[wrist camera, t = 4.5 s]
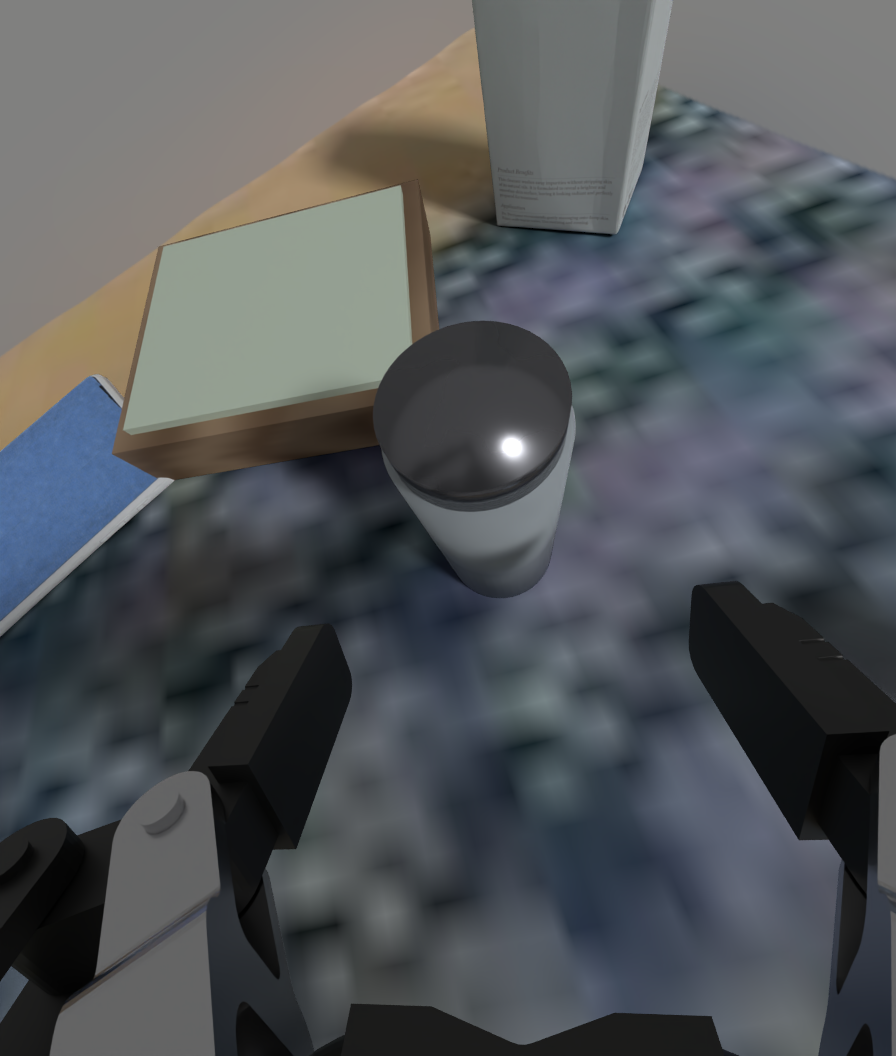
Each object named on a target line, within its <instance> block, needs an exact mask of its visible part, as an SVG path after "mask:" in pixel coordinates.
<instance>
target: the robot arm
mask: <svg viewBox="0 0 896 1056" xmlns="http://www.w3.org/2000/svg"><path fill="white" fill-rule="evenodd" d="M689 652H690V657H691V661H692V664H693V666H694V669H695V671H696V673H697V675H698V677H699V678H700V680H701V681H702V683H703V685H704V686H705V688H706V690H707V691H708V693H709V694H710V696H711V698H712V699H713V701H714V703H715V704H716V706H717V707H718V709H719V711H720V712H721V714H722V716H723V717H724V719H725V721H726V722H727V724H728V725H729V727H730V729H731V730H732V732H733V734H734V735H735V737H736V738H737V740H738V742H739V743H740V745H741V747H742V748H743V750H744V751H745V753H746V755H747V756H748V758H749V760H750V761H751V763H752V764H753V766H754V768H755V769H756V771H757V773H758V774H759V776H760V778H761V779H762V781H763V782H764V784H765V786H766V787H767V789H768V791H769V792H770V794H771V795H772V797H773V799H774V800H775V802H776V804H777V805H778V807H779V808H780V810H781V812H782V813H783V815H784V817H785V818H786V820H787V822H788V823H789V825H790V826H791V828H792V830H793V831H794V833H795V835H796V836H797V838H798V839H799V840H829V841H830V842H831V844H832V845H833V847H834V848H835V850H836V851H837V853H838V854H839V855H840V857H841V858H842V860H841V863H840V867H839V873H838V885H837V898H836V911H835V923H834V936H833V948H832V961H831V974H830V986H829V997H828V1006H827V1013H826V1018H825V1024H824V1028H823V1032H822V1037H821V1042H820V1048H819V1055H818V1056H896V703H894V702H893V701H892V700H891V699H890V698H889V697H888V696H887V695H886V694H885V693H884V692H882V691H881V690H880V689H879V688H878V687H877V686H876V685H875V684H874V683H873V682H871V681H870V680H869V679H868V678H867V677H866V676H865V675H864V674H863V673H862V672H861V671H859V670H858V669H857V668H856V667H855V666H854V665H853V664H852V663H851V662H850V661H849V660H844V659H843V655H842V654H841V653H840V652H839V651H838V650H836V649H835V648H834V647H833V646H832V645H831V644H830V643H829V642H825V641H824V638H823V637H822V636H821V635H820V634H819V633H818V632H817V631H816V630H815V629H814V628H812V627H811V626H810V625H809V624H808V623H807V622H806V621H805V620H804V619H803V618H801V617H799V616H797V615H795V614H793V613H791V612H789V611H787V610H785V609H784V608H782V607H780V606H778V605H776V604H774V603H765V604H762V603H761V602H760V601H759V600H758V599H757V598H755V597H754V596H753V595H752V594H751V593H750V592H749V591H748V590H747V589H746V588H745V587H744V586H743V585H742V584H741V583H740V582H738V581H730V582H721V583H712V584H702V585H696V586H695V587H694V588H693V591H692V598H691V614H690V630H689ZM351 692H352V678H351V673H350V670H349V667H348V665H347V662H346V659H345V656H344V654H343V651H342V648H341V646H340V643H339V640H338V637H337V635H336V632H335V630H334V628H333V626H332V625H330V624H319V625H309V626H300V627H297V628H295V629H294V631H293V632H292V634H291V635H290V637H289V638H288V640H287V642H286V643H285V645H284V646H283V648H282V650H278V651H275V652H274V653H273V654H272V655H271V656H270V657H269V658H268V659H267V660H265V661H264V662H263V663H262V664H261V665H260V666H259V667H258V668H257V669H256V671H255V672H254V674H253V675H252V677H251V678H250V680H249V681H248V683H247V684H246V686H245V690H242V692H241V693H240V695H239V696H238V698H237V699H236V701H235V702H234V703H235V705H234V706H232V707H231V708H230V710H229V711H228V713H227V714H226V716H225V717H224V719H223V720H222V722H221V723H220V725H219V726H218V728H217V729H216V731H215V732H214V734H213V735H212V737H211V738H210V740H209V741H208V743H207V744H206V746H205V747H204V749H203V750H202V752H201V753H200V755H199V756H198V758H197V759H196V761H195V762H194V764H193V765H192V767H191V768H190V769H189V771H188V772H183V773H179V774H176V775H174V776H171V777H169V778H167V779H165V780H163V781H162V782H160V783H158V784H157V785H155V786H154V787H153V788H151V789H150V790H148V791H147V792H146V793H145V794H144V795H143V796H141V797H140V798H139V799H138V800H137V801H136V802H135V803H134V804H133V806H132V807H131V808H130V809H129V810H128V812H127V813H126V814H125V816H124V817H123V819H122V820H119V821H116V822H113V823H110V824H108V825H105V826H102V827H99V828H97V829H94V830H91V831H88V832H85V833H83V834H80V835H76V834H75V833H74V832H73V831H72V830H71V829H70V827H69V826H68V825H67V824H66V823H65V822H64V821H63V820H61V819H58V818H49V819H43V820H40V821H37V822H35V823H32V824H30V825H28V826H26V827H24V828H22V829H20V830H19V831H17V832H15V833H14V834H12V835H10V836H9V837H7V838H6V839H5V840H3V841H2V842H1V843H0V981H1V980H2V978H3V977H4V975H5V974H6V972H7V971H8V970H9V968H10V967H11V966H12V967H13V968H14V969H16V970H17V971H18V972H20V973H21V974H22V975H23V976H25V977H26V978H27V979H29V981H28V982H27V984H26V985H25V987H24V988H23V990H22V991H21V993H20V994H19V996H18V997H17V999H16V1001H15V1002H14V1004H13V1005H12V1007H11V1008H10V1010H9V1011H8V1013H7V1014H6V1016H5V1017H4V1019H3V1020H2V1022H1V1023H0V1056H738V1055H736V1054H734V1053H731V1052H729V1051H726V1050H724V1049H722V1047H721V1044H720V1041H719V1038H718V1035H717V1032H716V1029H715V1026H714V1023H713V1019H712V1016H688V1015H660V1014H631V1013H613V1014H610V1015H607V1016H605V1017H602V1018H599V1019H596V1020H594V1021H591V1022H588V1023H586V1024H583V1025H580V1026H578V1027H575V1028H572V1029H569V1030H567V1031H564V1032H561V1033H559V1034H556V1035H553V1036H550V1037H548V1038H545V1039H542V1040H540V1041H537V1042H534V1043H531V1044H527V1045H518V1044H515V1043H512V1042H510V1041H507V1040H505V1039H503V1038H501V1037H498V1036H496V1035H494V1034H492V1033H490V1032H487V1031H485V1030H483V1029H481V1028H478V1027H476V1026H474V1025H472V1024H469V1023H467V1022H465V1021H463V1020H460V1019H458V1018H456V1017H454V1016H452V1015H449V1014H447V1013H445V1012H443V1011H440V1010H438V1009H436V1008H434V1007H430V1006H401V1005H373V1004H351V1007H350V1012H349V1017H348V1022H347V1027H346V1032H345V1035H343V1036H341V1037H339V1038H337V1039H335V1040H333V1041H331V1042H330V1043H328V1044H326V1045H324V1046H323V1047H321V1048H319V1049H317V1050H316V1051H315V1052H314V1048H313V1044H312V1040H311V1037H310V1034H309V1031H308V1027H307V1025H306V1022H305V1019H304V1017H303V1014H302V1012H301V1009H300V1007H299V1005H298V1002H297V1000H296V997H295V994H294V991H293V987H292V983H291V979H290V974H289V970H288V965H287V960H286V955H285V950H284V945H283V940H282V935H281V931H280V926H279V921H278V916H277V911H276V906H275V901H274V896H273V892H272V887H271V882H270V877H269V874H268V872H267V870H266V869H265V867H266V865H267V863H268V860H269V858H270V855H271V853H272V850H275V849H296V848H297V845H298V842H299V840H300V837H301V834H302V831H303V829H304V826H305V823H306V820H307V818H308V815H309V812H310V809H311V806H312V804H313V801H314V798H315V795H316V793H317V790H318V787H319V784H320V781H321V779H322V776H323V773H324V770H325V768H326V765H327V762H328V759H329V757H330V754H331V751H332V748H333V745H334V743H335V740H336V737H337V734H338V732H339V729H340V726H341V723H342V721H343V718H344V715H345V712H346V709H347V707H348V704H349V701H350V698H351Z"/></svg>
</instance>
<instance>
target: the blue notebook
mask: <svg viewBox="0 0 896 1056" xmlns="http://www.w3.org/2000/svg"><path fill="white" fill-rule="evenodd" d="M123 402H124V397H123V396H122V395H121V394H120V393H119V392H118V390H117V389H116V388H115V387H114V386H113V384H112V383H111V382H110V381H109V380H108V379H107V378H105V377H103V376H102V375H99V374H94V375H91V376H89V377H87V378H86V379H84V380H83V381H82V382H81V383H80V384H79V385H78V386H76V387H75V388H74V389H73V390H72V391H71V392H69V393H68V394H67V395H66V396H65V397H63V398H62V399H61V400H60V401H59V402H58V403H56V404H55V405H54V406H53V407H52V408H50V409H49V410H48V411H47V412H46V413H45V414H44V415H42V416H41V417H40V418H39V419H38V420H37V421H35V422H34V423H33V424H32V425H31V426H30V427H28V428H27V429H26V430H25V431H24V432H22V433H21V434H20V435H19V436H18V437H17V438H15V439H14V440H13V441H12V442H11V443H10V444H8V445H7V446H6V447H5V448H4V449H3V450H1V451H0V637H1V636H2V635H3V634H4V633H5V632H6V631H7V630H8V629H9V628H10V627H12V626H13V625H14V624H15V623H16V622H17V621H18V620H19V619H20V618H21V617H22V616H24V615H25V614H26V613H27V612H28V611H29V610H30V609H31V608H32V607H34V606H35V605H36V604H37V603H38V602H39V601H40V600H41V599H42V598H43V597H45V596H46V595H47V594H48V593H49V592H50V591H51V590H52V589H53V588H54V587H55V586H57V585H58V584H59V583H60V582H61V581H62V580H63V579H64V578H65V577H67V576H68V575H69V574H70V573H71V572H72V571H73V570H74V569H75V568H77V567H78V566H79V565H80V564H81V563H82V562H83V561H84V560H85V559H87V558H88V557H89V556H90V555H91V554H92V553H93V552H94V551H95V550H97V549H98V548H99V547H100V546H101V545H102V544H103V543H104V542H105V541H107V540H108V539H109V538H110V537H111V536H112V535H113V534H114V533H115V532H116V531H117V530H119V529H120V528H121V527H122V526H123V525H125V524H126V523H127V522H128V521H129V520H130V519H131V518H132V517H134V516H135V515H136V514H137V513H138V512H139V511H140V510H141V509H143V508H144V507H145V506H146V505H147V504H148V503H150V502H151V501H152V500H153V499H154V498H155V497H156V496H158V495H159V494H160V493H161V492H162V491H163V490H164V489H165V488H167V487H168V486H169V485H170V484H171V483H172V482H173V481H174V480H173V479H170V478H155V477H154V476H152V475H150V474H148V473H146V472H144V471H142V470H141V469H139V468H137V467H135V466H133V465H131V464H129V463H128V462H126V461H124V460H122V459H120V458H118V457H116V456H114V455H113V454H112V450H113V446H114V441H115V437H116V433H117V428H118V424H119V419H120V415H121V411H122V406H123Z"/></svg>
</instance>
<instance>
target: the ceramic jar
mask: <svg viewBox="0 0 896 1056" xmlns="http://www.w3.org/2000/svg"><path fill="white" fill-rule="evenodd" d="M373 423H374V430H375V434H376V438H377V440H378V442H379V445H380V447H381V449H382V456H383V460H384V464H385V467H386V469H387V472H388V474H389V476H390V478H391V479H392V481H393V482H394V484H395V486H396V487H397V488H398V490H399V491H400V493H401V494H402V496H403V497H404V499H405V500H406V502H407V503H408V504H409V506H410V507H411V509H412V510H413V512H414V513H415V515H416V516H417V518H418V519H419V520H420V522H421V523H422V525H423V526H424V528H425V529H426V531H427V532H428V533H429V535H430V536H431V538H432V539H433V541H434V542H435V544H436V545H437V547H438V548H439V549H440V551H441V552H442V554H443V555H444V557H445V558H446V560H447V561H448V563H449V564H450V565H451V567H452V568H453V570H454V571H455V573H456V574H457V576H458V577H459V578H460V580H461V581H462V582H463V583H464V584H465V585H466V586H467V587H469V588H470V589H471V590H473V591H475V592H477V593H479V594H481V595H484V596H487V597H492V598H508V597H513V596H517V595H520V594H522V593H524V592H526V591H528V590H529V589H531V588H532V587H533V586H534V585H536V584H537V583H538V582H539V581H540V579H541V578H542V577H543V575H544V574H545V572H546V570H547V568H548V566H549V563H550V559H551V554H552V549H553V544H554V539H555V534H556V529H557V524H558V519H559V514H560V509H561V504H562V499H563V494H564V490H565V485H566V480H567V475H568V470H569V465H570V460H571V455H572V450H573V445H574V439H575V426H576V423H575V415H574V410H573V407H572V390H571V382H570V379H569V376H568V372H567V370H566V368H565V366H564V364H563V362H562V360H561V359H560V357H559V356H558V354H557V353H556V352H555V351H554V350H553V349H552V348H551V347H550V346H549V344H547V343H546V342H545V341H544V340H542V339H541V338H540V337H538V336H536V335H535V334H533V333H531V332H530V331H527V330H525V329H523V328H520V327H518V326H514V325H511V324H507V323H501V322H494V321H471V322H465V323H459V324H455V325H451V326H447V327H444V328H442V329H439V330H436V331H434V332H432V333H430V334H428V335H426V336H424V337H423V338H421V339H419V340H418V341H416V342H415V343H413V344H412V345H411V346H409V347H408V348H407V349H406V350H405V351H404V352H402V353H401V354H400V355H399V356H398V357H397V358H396V360H395V361H394V362H393V363H392V364H391V366H390V367H389V369H388V370H387V372H386V373H385V375H384V376H383V378H382V380H381V382H380V384H379V387H378V390H377V393H376V396H375V401H374V406H373Z"/></svg>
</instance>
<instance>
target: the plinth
mask: <svg viewBox="0 0 896 1056" xmlns="http://www.w3.org/2000/svg"><path fill="white" fill-rule="evenodd" d="M436 330H439V323H438V312H437V302H436V291H435V280H434V269H433V259H432V248H431V237H430V231H429V227H428V222H427V218H426V213H425V209H424V205H423V200H422V196H421V191H420V187H419V182H418V179H417V180H413V181H409V182H406V183H402V184H398V185H394V186H390V187H386V188H383V189H379V190H375V191H371V192H367V193H363V194H359V195H356V196H352V197H348V198H344V199H340V200H336V201H333V202H329V203H325V204H321V205H317V206H313V207H309V208H306V209H302V210H298V211H294V212H290V213H286V214H283V215H279V216H275V217H271V218H267V219H263V220H259V221H256V222H252V223H248V224H244V225H240V226H236V227H233V228H229V229H225V230H221V231H217V232H213V233H209V234H206V235H202V236H198V237H194V238H190V239H186V240H183V241H179V242H175V243H171V244H167V245H163V246H159V248H158V252H157V256H156V261H155V265H154V270H153V274H152V278H151V283H150V287H149V292H148V296H147V300H146V305H145V309H144V314H143V318H142V322H141V327H140V331H139V336H138V340H137V344H136V349H135V353H134V358H133V362H132V366H131V371H130V375H129V380H128V384H127V389H126V393H125V397H124V402H123V406H122V411H121V415H120V419H119V424H118V428H117V433H116V437H115V441H114V446H113V450H112V454H113V455H114V456H116V457H118V458H120V459H122V460H124V461H126V462H128V463H129V464H131V465H133V466H135V467H137V468H139V469H141V470H142V471H144V472H146V473H148V474H150V475H152V476H154V477H155V478H170V479H173V480H177V479H183V478H189V477H195V476H201V475H206V474H212V473H218V472H224V471H230V470H236V469H242V468H247V467H253V466H259V465H265V464H271V463H277V462H283V461H289V460H294V459H300V458H306V457H312V456H318V455H324V454H330V453H335V452H341V451H347V450H353V449H359V448H365V447H371V446H376V445H379V442H378V440H377V438H376V434H375V430H374V423H373V406H374V401H375V396H376V393H377V390H378V387H379V384H380V382H381V380H382V378H383V376H384V375H385V373H386V372H387V370H388V369H389V367H390V366H391V364H392V363H393V362H394V361H395V360H396V358H397V357H398V356H399V355H400V354H401V353H402V352H404V351H405V350H406V349H407V348H408V347H409V346H411V345H412V344H413V343H415V342H416V341H418V340H419V339H421V338H423V337H424V336H426V335H428V334H430V333H432V332H434V331H436Z"/></svg>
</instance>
